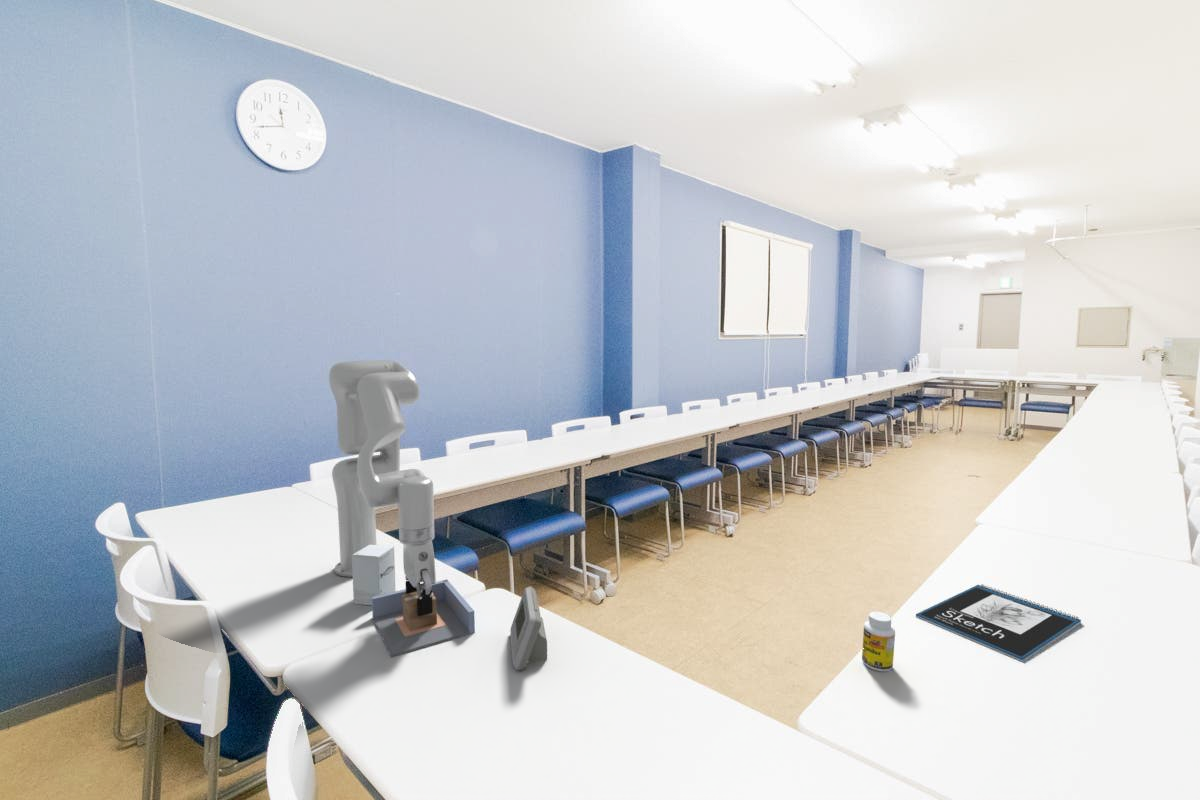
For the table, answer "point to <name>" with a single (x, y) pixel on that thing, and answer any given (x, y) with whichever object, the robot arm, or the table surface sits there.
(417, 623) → the brown cardboard box
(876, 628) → the supplement bottle
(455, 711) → the table surface
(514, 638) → the digital clock
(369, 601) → the supplement box
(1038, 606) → the sketchbook
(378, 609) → the arena
